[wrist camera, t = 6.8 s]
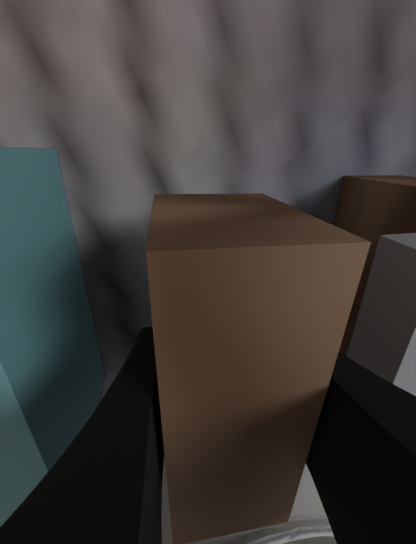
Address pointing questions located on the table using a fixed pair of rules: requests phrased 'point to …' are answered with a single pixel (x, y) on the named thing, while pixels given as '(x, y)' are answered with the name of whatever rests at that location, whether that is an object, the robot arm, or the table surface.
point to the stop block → (40, 325)
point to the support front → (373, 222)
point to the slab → (389, 314)
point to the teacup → (277, 538)
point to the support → (243, 350)
